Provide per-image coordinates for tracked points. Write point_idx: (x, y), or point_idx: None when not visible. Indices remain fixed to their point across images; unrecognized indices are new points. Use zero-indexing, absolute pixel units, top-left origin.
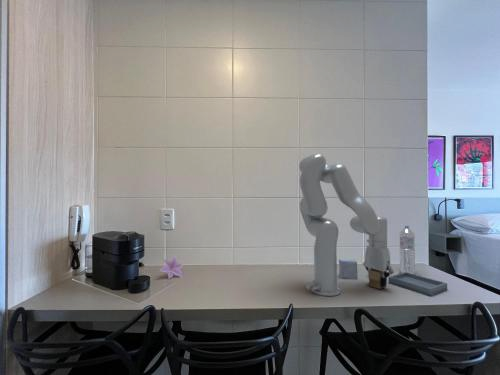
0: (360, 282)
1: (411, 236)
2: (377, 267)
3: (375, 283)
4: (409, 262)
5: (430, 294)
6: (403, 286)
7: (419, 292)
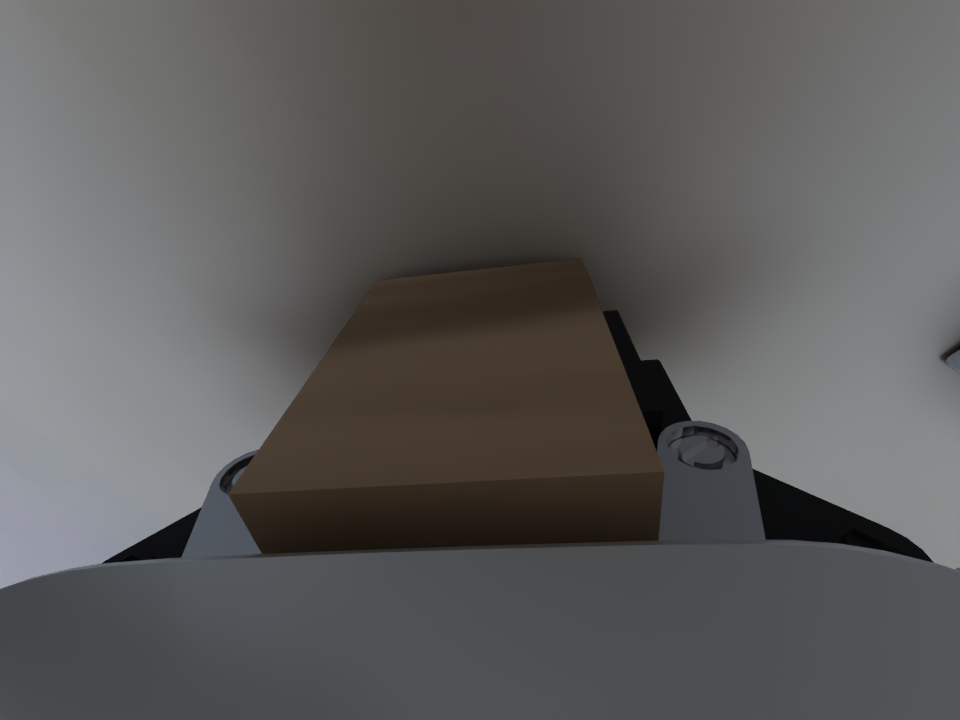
0: (800, 272)
1: None
2: (137, 685)
3: (439, 302)
4: None
5: None
6: None
7: None
